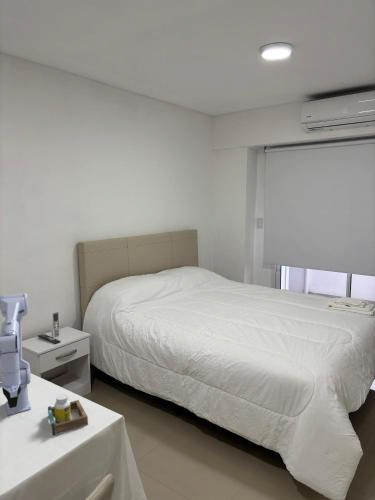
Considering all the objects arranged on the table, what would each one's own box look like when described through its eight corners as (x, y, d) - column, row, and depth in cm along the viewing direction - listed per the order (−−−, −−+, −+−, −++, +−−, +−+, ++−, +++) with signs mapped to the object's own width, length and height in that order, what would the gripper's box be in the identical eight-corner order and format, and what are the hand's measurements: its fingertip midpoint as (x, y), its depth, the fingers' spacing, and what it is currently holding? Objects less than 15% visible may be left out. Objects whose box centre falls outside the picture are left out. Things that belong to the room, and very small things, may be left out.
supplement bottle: (66, 426, 135) (65, 401, 133) (52, 425, 135) (50, 400, 134) (73, 417, 140) (72, 393, 138) (59, 416, 141) (58, 391, 139)
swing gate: (55, 429, 131) (54, 420, 131) (51, 430, 131) (51, 421, 130) (51, 413, 140) (51, 405, 139) (48, 414, 139) (47, 406, 139)
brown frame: (45, 416, 140) (45, 406, 140) (78, 407, 147) (78, 397, 146) (52, 435, 130) (52, 424, 129) (88, 424, 136) (87, 414, 135)
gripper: (-5, 363, 132) (-2, 399, 134) (-1, 382, 120) (2, 421, 122) (17, 359, 136) (19, 394, 138) (23, 376, 123) (25, 414, 126)
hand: (12, 406), depth 130 cm, fingers closed
